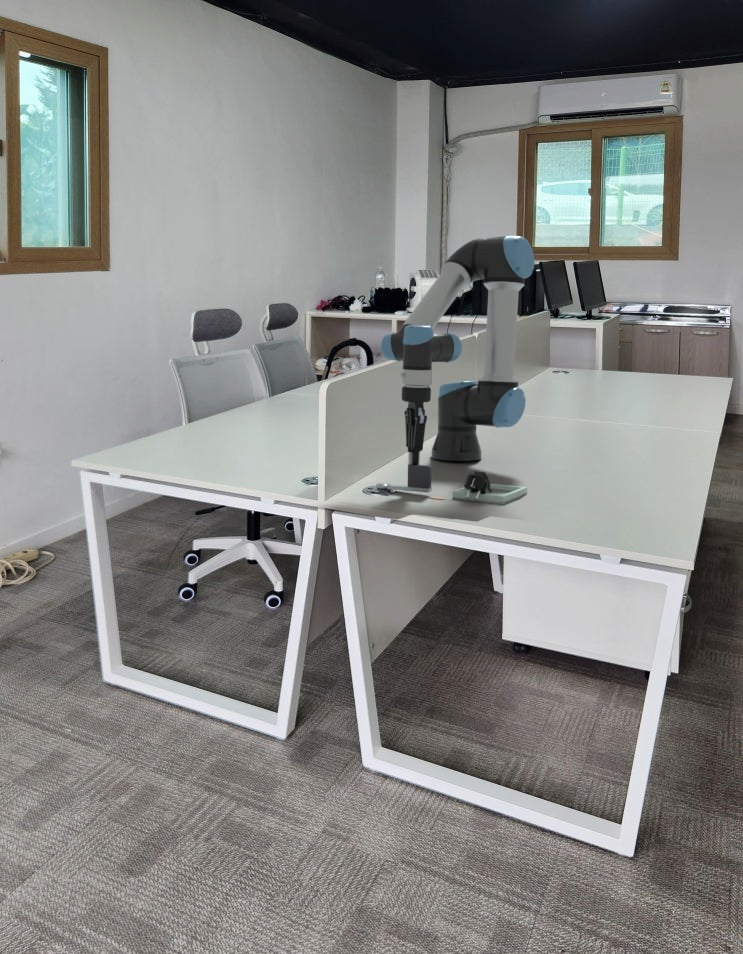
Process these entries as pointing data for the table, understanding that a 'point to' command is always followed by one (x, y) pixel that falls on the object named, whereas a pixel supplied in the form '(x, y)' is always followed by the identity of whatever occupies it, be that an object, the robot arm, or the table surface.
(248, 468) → the table surface
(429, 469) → the crank
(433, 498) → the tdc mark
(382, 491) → the hub
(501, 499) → the tray
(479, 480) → the power plug
